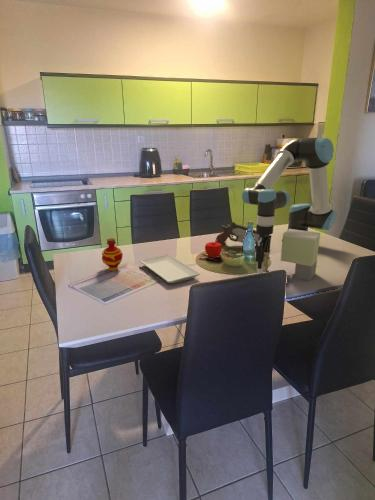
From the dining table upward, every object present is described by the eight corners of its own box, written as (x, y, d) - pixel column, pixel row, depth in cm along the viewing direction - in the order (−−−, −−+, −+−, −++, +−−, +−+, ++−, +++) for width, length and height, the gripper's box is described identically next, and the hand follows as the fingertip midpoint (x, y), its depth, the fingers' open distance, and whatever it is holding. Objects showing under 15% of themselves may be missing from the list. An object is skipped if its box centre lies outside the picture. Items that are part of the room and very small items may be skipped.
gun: (258, 258, 201) (267, 234, 195) (214, 243, 203) (222, 219, 198) (258, 255, 205) (267, 232, 200) (215, 240, 208) (223, 217, 202)
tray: (168, 288, 148) (167, 281, 146) (139, 266, 173) (138, 259, 172) (200, 280, 156) (201, 273, 155) (168, 259, 181) (168, 253, 180)
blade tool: (259, 271, 163) (260, 251, 160) (290, 277, 155) (292, 257, 152) (256, 274, 160) (257, 253, 157) (287, 280, 152) (289, 259, 149)
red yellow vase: (127, 266, 172) (125, 237, 167) (117, 273, 163) (114, 243, 158) (109, 263, 175) (107, 235, 170) (98, 271, 166) (95, 241, 161)
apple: (202, 258, 182) (202, 244, 180) (208, 253, 190) (208, 240, 187) (218, 260, 179) (219, 246, 176) (223, 255, 187) (224, 241, 184)
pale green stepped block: (284, 267, 169) (288, 228, 163) (315, 273, 162) (320, 233, 155) (277, 274, 161) (281, 233, 155) (309, 280, 154) (315, 238, 147)
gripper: (263, 219, 161) (260, 265, 169) (249, 227, 148) (246, 277, 155) (279, 221, 158) (275, 268, 165) (266, 230, 144) (262, 280, 152)
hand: (261, 272), depth 160 cm, fingers closed on blade tool, 4 cm apart
